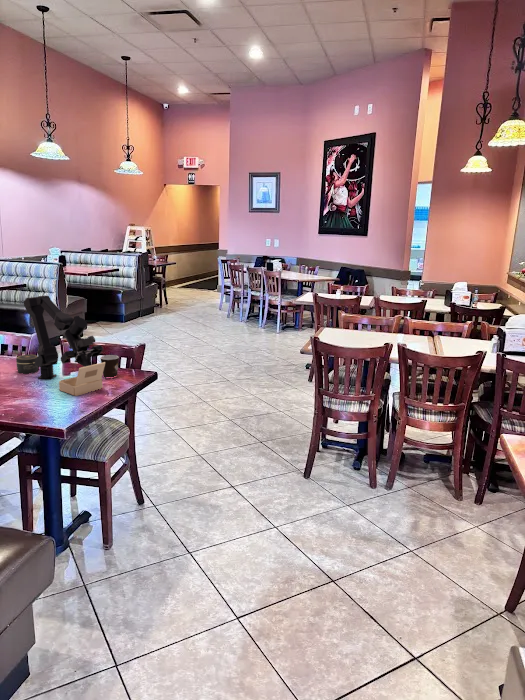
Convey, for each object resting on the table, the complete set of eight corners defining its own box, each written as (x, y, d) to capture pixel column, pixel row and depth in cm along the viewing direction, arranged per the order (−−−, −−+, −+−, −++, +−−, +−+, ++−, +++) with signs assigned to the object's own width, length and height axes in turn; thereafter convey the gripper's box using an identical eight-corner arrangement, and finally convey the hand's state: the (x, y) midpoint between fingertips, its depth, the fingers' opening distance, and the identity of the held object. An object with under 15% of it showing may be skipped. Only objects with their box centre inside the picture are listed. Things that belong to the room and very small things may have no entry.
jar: (16, 369, 251) (15, 355, 249) (38, 368, 255) (37, 353, 254) (17, 375, 242) (16, 360, 240) (40, 373, 247) (38, 358, 245)
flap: (75, 385, 217) (79, 368, 213) (100, 378, 227) (104, 362, 223) (76, 385, 216) (79, 368, 212) (101, 379, 227) (105, 362, 223)
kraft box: (58, 390, 224) (57, 381, 223) (86, 382, 236) (86, 374, 235) (74, 396, 217) (74, 387, 216) (103, 388, 229) (103, 379, 228)
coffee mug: (108, 380, 240) (107, 360, 238) (97, 376, 245) (96, 357, 243) (128, 375, 249) (127, 356, 247) (117, 372, 254) (116, 353, 252)
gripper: (63, 333, 210) (80, 363, 207) (100, 327, 225) (116, 355, 222) (53, 348, 217) (69, 377, 213) (90, 341, 231) (105, 369, 228)
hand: (91, 369), depth 219 cm, fingers closed, pressing on flap
